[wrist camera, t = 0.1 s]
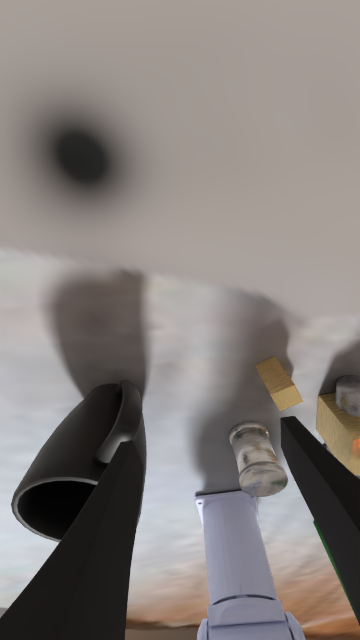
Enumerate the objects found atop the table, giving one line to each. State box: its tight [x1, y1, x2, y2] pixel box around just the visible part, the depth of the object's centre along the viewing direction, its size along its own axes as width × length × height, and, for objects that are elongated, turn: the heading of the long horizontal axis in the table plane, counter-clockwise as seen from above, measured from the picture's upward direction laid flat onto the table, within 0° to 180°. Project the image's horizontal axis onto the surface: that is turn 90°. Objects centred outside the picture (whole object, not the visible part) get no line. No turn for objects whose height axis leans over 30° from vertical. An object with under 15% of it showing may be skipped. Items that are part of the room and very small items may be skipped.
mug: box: [11, 380, 147, 542], centre depth 18 cm, size 8×12×10 cm
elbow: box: [255, 356, 303, 411], centre depth 20 cm, size 4×2×4 cm, turn 32°
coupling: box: [229, 421, 288, 497], centre depth 23 cm, size 4×4×5 cm
